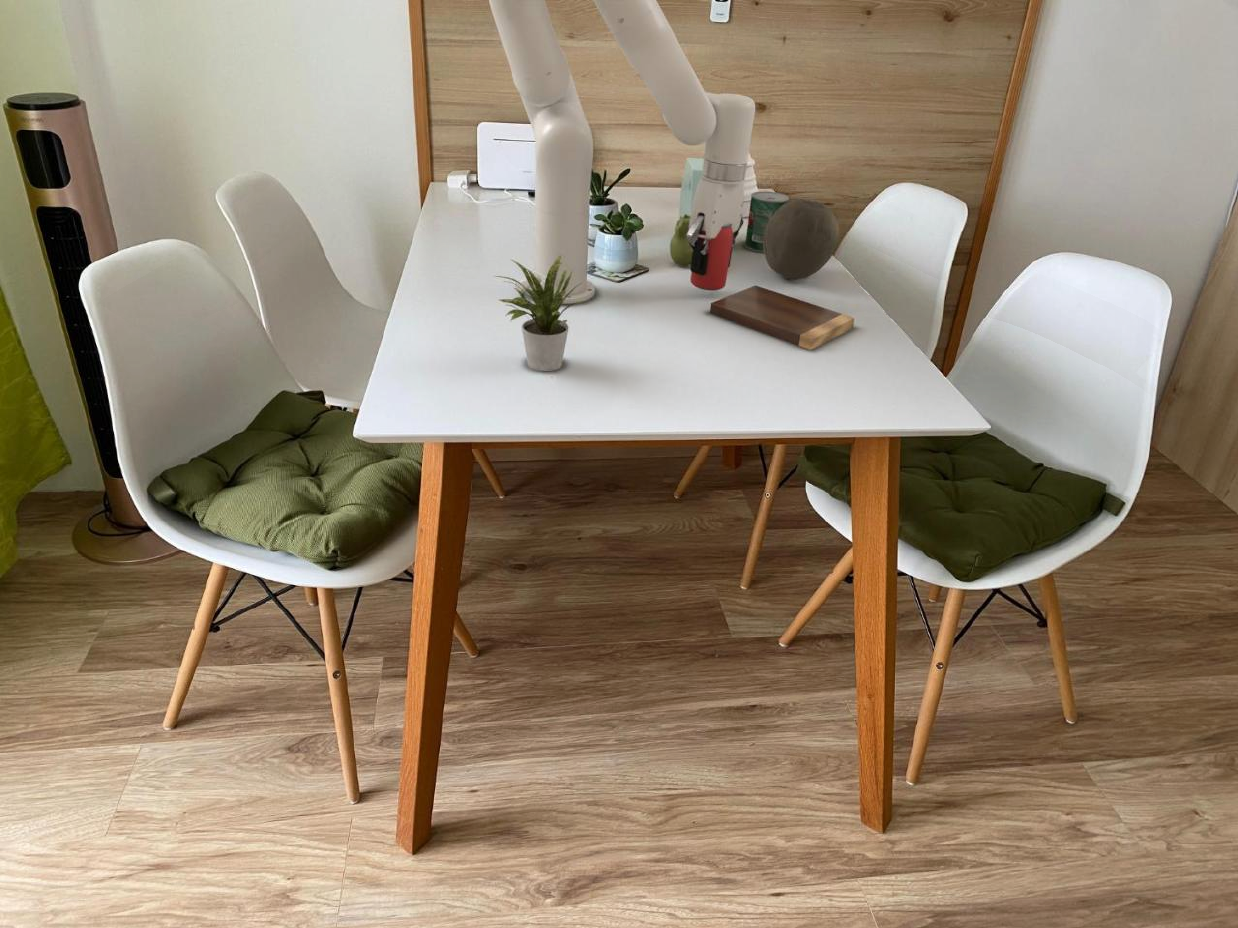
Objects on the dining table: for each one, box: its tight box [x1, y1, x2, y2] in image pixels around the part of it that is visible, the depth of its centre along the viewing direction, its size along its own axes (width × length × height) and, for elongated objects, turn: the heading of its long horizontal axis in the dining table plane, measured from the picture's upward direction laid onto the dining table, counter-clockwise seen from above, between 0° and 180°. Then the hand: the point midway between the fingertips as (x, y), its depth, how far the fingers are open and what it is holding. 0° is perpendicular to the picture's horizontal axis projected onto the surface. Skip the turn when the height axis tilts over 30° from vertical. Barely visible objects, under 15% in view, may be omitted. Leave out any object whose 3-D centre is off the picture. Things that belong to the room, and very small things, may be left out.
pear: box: [669, 214, 693, 267], centre depth 181 cm, size 6×5×10 cm
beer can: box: [690, 224, 733, 292], centre depth 166 cm, size 7×7×12 cm
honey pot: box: [741, 152, 759, 218], centre depth 216 cm, size 13×13×18 cm
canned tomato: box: [744, 190, 790, 254], centre depth 194 cm, size 8×8×11 cm
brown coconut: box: [763, 198, 840, 281], centre depth 177 cm, size 14×14×15 cm
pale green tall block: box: [678, 157, 704, 220], centre depth 190 cm, size 17×8×21 cm
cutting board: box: [709, 285, 856, 351], centre depth 160 cm, size 14×21×2 cm, turn 48°
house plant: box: [494, 256, 586, 372], centre depth 137 cm, size 14×14×16 cm
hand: (710, 268), depth 167 cm, fingers closed on beer can, 6 cm apart
